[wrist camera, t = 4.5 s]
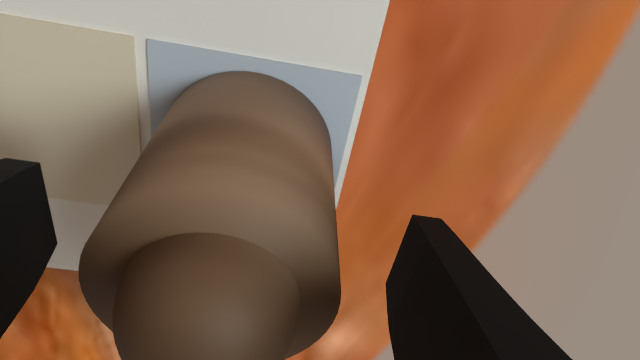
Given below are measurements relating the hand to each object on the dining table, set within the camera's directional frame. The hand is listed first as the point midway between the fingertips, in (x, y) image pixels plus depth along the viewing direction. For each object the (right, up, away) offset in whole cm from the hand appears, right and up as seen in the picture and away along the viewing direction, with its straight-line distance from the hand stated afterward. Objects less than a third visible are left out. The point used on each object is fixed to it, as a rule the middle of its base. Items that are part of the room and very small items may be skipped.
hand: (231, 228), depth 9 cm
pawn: (0, +2, +3) cm, 3 cm away
